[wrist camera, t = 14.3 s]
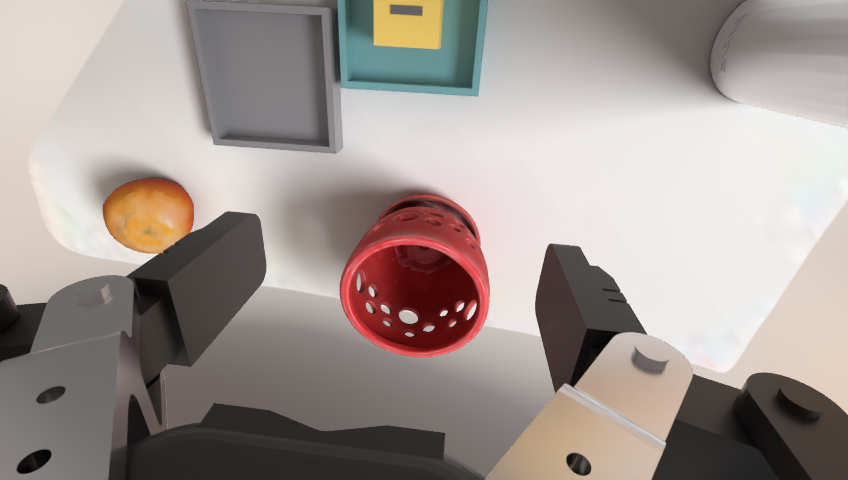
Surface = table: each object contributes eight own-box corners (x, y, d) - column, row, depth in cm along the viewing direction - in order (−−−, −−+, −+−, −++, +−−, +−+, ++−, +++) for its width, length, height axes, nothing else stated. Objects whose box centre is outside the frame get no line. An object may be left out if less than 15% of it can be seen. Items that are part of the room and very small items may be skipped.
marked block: (445, -19, 33) (442, -29, 28) (440, 48, 35) (437, 49, 31) (385, -23, 33) (373, -32, 29) (384, 44, 35) (373, 45, 31)
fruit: (110, 155, 42) (96, 192, 36) (197, 168, 46) (197, 203, 40) (110, 220, 45) (97, 263, 39) (190, 226, 49) (189, 266, 44)
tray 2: (493, -71, 31) (496, -79, 29) (477, 93, 37) (478, 96, 35) (342, -76, 32) (333, -85, 30) (348, 85, 38) (341, 87, 36)
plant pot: (374, 173, 41) (344, 220, 31) (497, 199, 42) (509, 254, 31) (361, 277, 47) (331, 346, 37) (468, 299, 48) (470, 374, 37)
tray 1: (336, 9, 35) (328, 7, 33) (342, 147, 40) (335, 153, 38) (202, 2, 36) (185, 0, 33) (226, 139, 41) (213, 144, 39)
